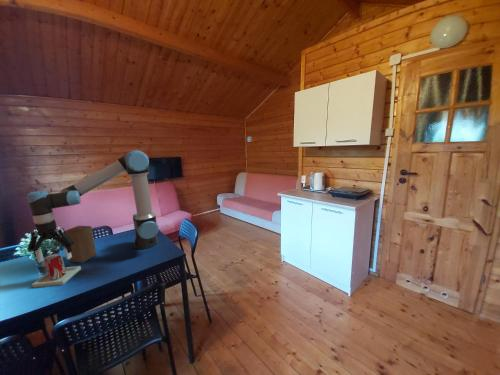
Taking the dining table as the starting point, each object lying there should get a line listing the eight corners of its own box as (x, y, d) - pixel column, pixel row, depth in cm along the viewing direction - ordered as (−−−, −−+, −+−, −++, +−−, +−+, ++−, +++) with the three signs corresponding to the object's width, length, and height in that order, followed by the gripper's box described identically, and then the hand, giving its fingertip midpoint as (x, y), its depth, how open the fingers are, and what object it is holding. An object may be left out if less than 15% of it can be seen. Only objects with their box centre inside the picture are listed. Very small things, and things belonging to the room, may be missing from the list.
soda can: (62, 279, 112) (56, 258, 109) (45, 282, 110) (39, 260, 107) (69, 271, 118) (64, 251, 116) (54, 274, 116) (48, 254, 114)
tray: (81, 269, 122) (80, 265, 121) (63, 284, 108) (62, 281, 108) (54, 271, 120) (53, 268, 120) (32, 288, 107) (31, 284, 106)
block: (82, 263, 128) (76, 232, 124) (69, 262, 130) (62, 231, 126) (97, 255, 138) (91, 225, 134) (84, 254, 140) (78, 224, 136)
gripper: (76, 216, 113) (85, 253, 117) (24, 221, 110) (35, 258, 115) (66, 221, 106) (76, 260, 110) (10, 226, 103) (22, 266, 107)
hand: (55, 259), depth 112 cm, fingers open, 13 cm apart
